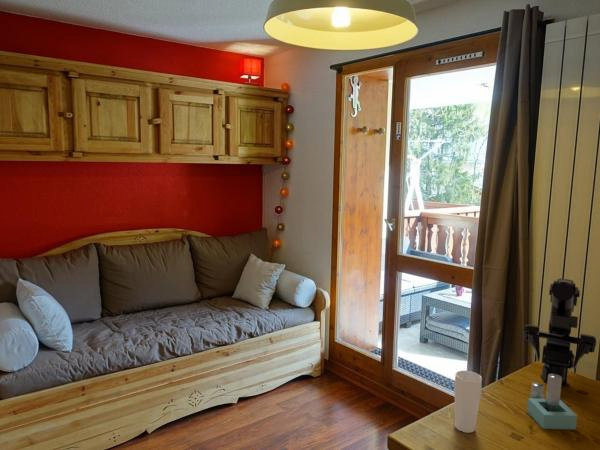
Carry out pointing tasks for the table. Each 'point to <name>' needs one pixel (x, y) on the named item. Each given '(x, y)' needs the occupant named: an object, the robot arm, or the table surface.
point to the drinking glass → (467, 400)
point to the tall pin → (553, 393)
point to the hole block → (551, 415)
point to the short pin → (537, 391)
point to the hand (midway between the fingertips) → (556, 364)
